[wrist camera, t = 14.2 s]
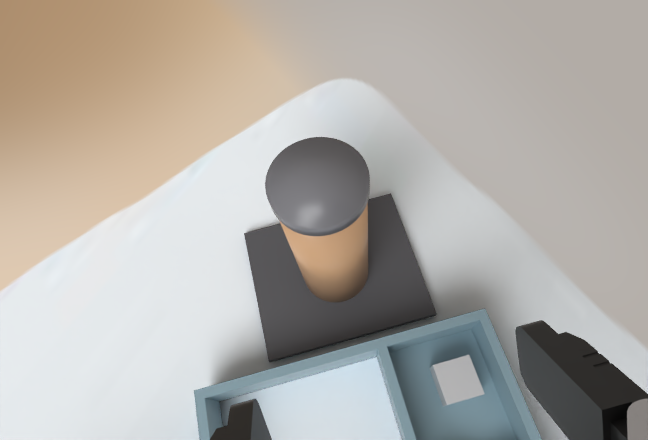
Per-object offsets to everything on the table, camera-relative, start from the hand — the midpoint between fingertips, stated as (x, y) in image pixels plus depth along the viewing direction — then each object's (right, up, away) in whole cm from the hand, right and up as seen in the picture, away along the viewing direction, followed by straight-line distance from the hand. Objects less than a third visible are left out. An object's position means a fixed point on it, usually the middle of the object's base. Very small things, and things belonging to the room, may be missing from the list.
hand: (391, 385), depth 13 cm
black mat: (-1, +1, +20) cm, 20 cm away
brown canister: (-1, +1, +20) cm, 20 cm away
